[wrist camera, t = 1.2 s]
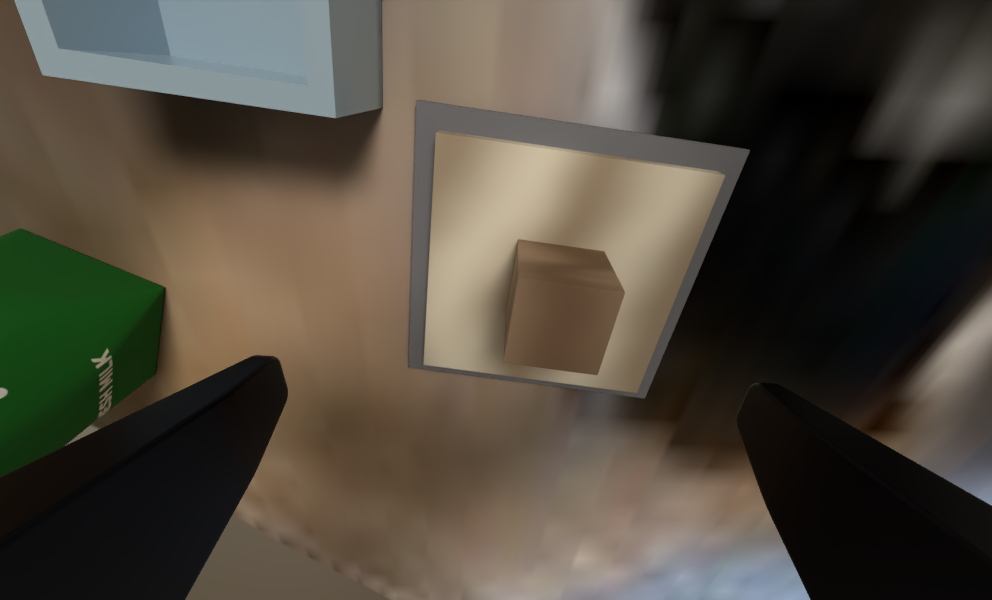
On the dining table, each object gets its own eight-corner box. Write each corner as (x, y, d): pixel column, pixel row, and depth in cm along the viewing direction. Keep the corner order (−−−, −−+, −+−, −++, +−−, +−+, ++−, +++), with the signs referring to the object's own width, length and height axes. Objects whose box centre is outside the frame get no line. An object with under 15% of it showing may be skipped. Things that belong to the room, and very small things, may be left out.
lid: (717, 171, 17) (782, 201, 13) (633, 383, 23) (659, 451, 19) (439, 130, 17) (413, 147, 13) (426, 356, 23) (405, 418, 18)
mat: (745, 148, 17) (750, 150, 17) (642, 393, 24) (644, 398, 23) (418, 100, 17) (416, 100, 16) (410, 363, 23) (408, 367, 23)
